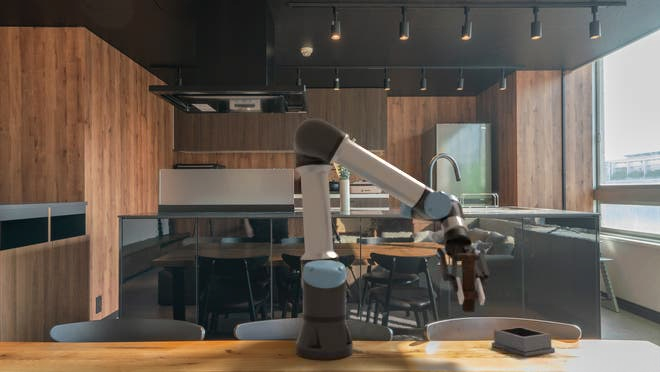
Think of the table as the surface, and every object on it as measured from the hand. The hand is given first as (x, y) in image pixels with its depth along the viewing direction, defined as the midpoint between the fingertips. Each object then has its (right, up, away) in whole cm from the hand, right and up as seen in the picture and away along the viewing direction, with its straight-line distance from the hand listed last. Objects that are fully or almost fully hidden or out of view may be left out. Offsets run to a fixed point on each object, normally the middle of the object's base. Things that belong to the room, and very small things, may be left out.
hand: (472, 301), depth 105 cm
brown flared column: (0, -4, +3) cm, 5 cm away
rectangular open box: (+16, -15, +7) cm, 23 cm away
